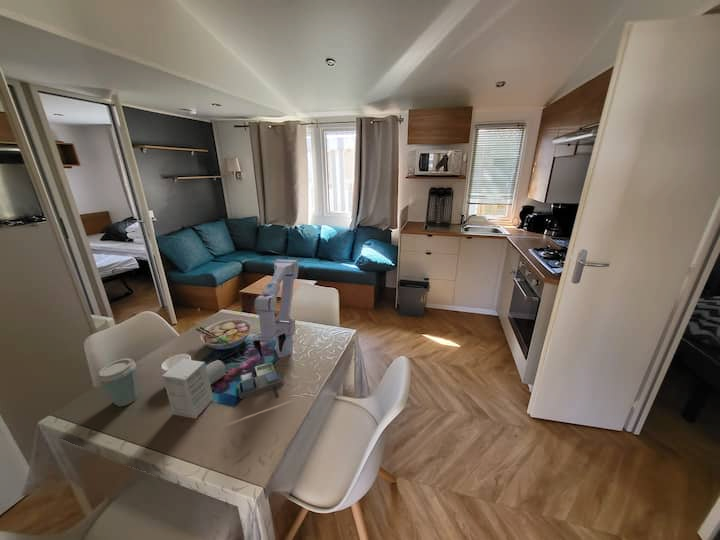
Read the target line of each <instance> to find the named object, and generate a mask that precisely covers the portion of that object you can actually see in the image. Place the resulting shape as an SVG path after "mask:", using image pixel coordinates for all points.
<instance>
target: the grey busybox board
mask: <svg viewBox="0 0 720 540" xmlns="http://www.w3.org/2000/svg"><path fill="white" fill-rule="evenodd" d="M253 382H254V384H255V387H256V388H255V387H254V389H252V390H249V391H246V392H243V391H241V388H242V382H241V381H238V382H237V390H238V396H239V400H242V399H244V398H247V397H250V396H254V395H257V394H259V393H262V392H266V391H269V390H271V389H273V392H274V396H275V398H276V399H277V398H279V394H278V389H277V388H278V387H280V386H283V385H284V380H283V377H282V374H281V372H280V370H279V369H278V370H275V371H274V372H271V373H267V374H264V375H261V376H258V377H257V376H254V377H253Z"/></svg>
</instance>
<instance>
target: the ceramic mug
mask: <svg viewBox="0 0 720 540" xmlns="http://www.w3.org/2000/svg"><path fill="white" fill-rule="evenodd" d="M206 369H207V373H208V378H209V382H210V386H211V385H213V384H214V383H215V382H217V381H218V380H220V379H222V378H223V377H224V376H225V375H226V373H227V366H226V364H225V363H224V362H223V361H222V360H219V359H217V360H214V361H212V362H210V363H208V364H206Z"/></svg>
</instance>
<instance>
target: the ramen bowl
mask: <svg viewBox="0 0 720 540" xmlns="http://www.w3.org/2000/svg"><path fill="white" fill-rule="evenodd" d="M252 329H253V326H252V323H251V322H250V321H249V320H246V319H242V318H229V319H225V320H220V321H217V322H214V323H212V324H211V325H209V326H207V327H206V328H204V327H202V326H199V328H195V331H197V332H200V340H201V341H202V342H203V343H204V345H206V346H208V347H210V348H212V349H216V350H227V349H232V348H234V347H237V346H239V345H240V344H242V343H243V342H244V341H245V340H246V339H247V338H249V337H248V336H249V335H250V333H251V332H252Z"/></svg>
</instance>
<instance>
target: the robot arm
mask: <svg viewBox="0 0 720 540" xmlns="http://www.w3.org/2000/svg"><path fill="white" fill-rule="evenodd" d="M299 266H300V265H299V262H298V260H297V259H278V258H277V259H275V261H274V263H273V269H274V273H273V275H272V278H271V280H270V281H268V282H267V283H266V285H265V286H264V288H263V290H262V293H260V295H258V296H257V297H256V298H255V300H254V306H253V307H254V309H255V311H256V315H258V319H259V320H258V321H259V326H260V327H259V328H260V332H259V333H257V334H255V335H252V336H250V337H248V338H249V344H251V345H252V344H253V346H254V348H255V349H256V350H257V352H258V353H259V355H260V358H263V357H264V356H263V352H262V351H263V350H262V344H261V341H269V342H270V341H273V340H274V339H275V343H276V344H275V345H276V346H274V349H275V353H276V355H277V358H279V359H280V358H283V357H287V356H291V355H293V354H296V353H297V352H296V350H295V347H294V343H293V336H294V335H295V333H296V320H295V318H294V317H293V316H292V315H291V308H292V307H291V306H292V299H293V290H294V289H293V288H294V282H295V280H296V279H297V278H298V276H299ZM281 283H282V286H281ZM280 290H281V295H280V304H279V311H278V315H277V316H275V308H276V305H277V301H278V300H277V297H278V295H279V293H280Z"/></svg>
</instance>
